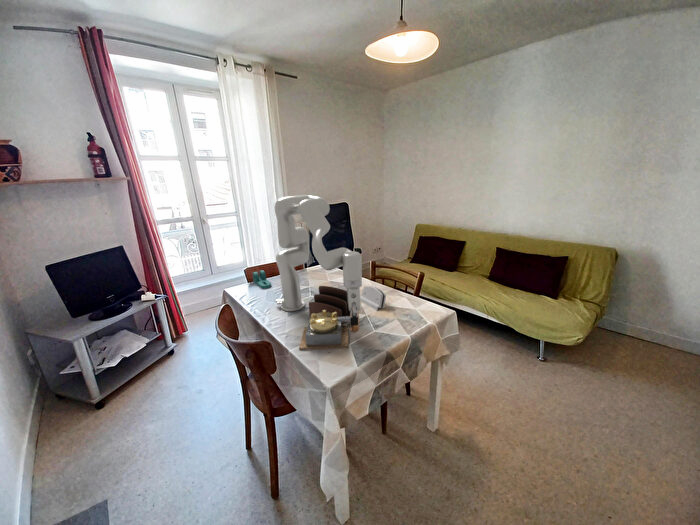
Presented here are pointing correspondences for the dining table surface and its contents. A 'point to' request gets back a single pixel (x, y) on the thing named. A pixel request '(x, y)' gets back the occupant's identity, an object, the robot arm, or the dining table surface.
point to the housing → (325, 338)
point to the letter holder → (330, 301)
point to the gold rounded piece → (329, 322)
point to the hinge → (373, 297)
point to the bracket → (261, 280)
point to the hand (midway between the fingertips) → (353, 319)
